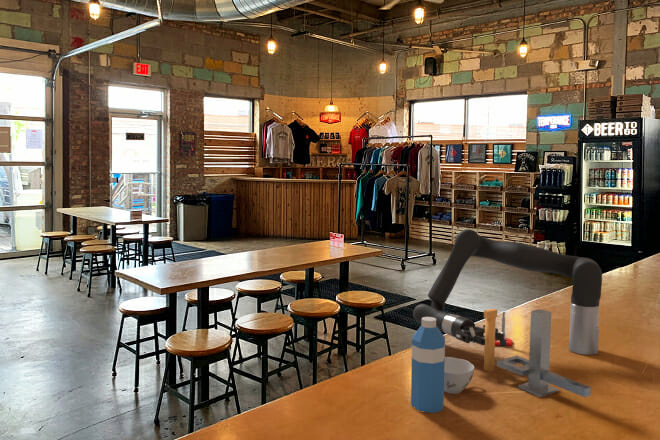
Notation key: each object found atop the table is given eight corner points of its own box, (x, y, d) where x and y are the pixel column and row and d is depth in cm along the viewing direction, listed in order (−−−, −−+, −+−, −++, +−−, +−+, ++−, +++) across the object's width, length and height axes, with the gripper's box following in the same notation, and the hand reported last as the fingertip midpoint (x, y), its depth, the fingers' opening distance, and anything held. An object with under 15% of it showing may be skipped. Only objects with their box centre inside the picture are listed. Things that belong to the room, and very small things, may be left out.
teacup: (455, 402, 157) (455, 375, 156) (422, 388, 166) (422, 363, 165) (487, 389, 166) (488, 363, 165) (454, 376, 176) (454, 352, 175)
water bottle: (407, 399, 159) (408, 314, 156) (439, 397, 160) (440, 313, 157) (414, 413, 150) (416, 324, 147) (448, 412, 151) (450, 323, 148)
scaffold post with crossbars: (496, 379, 173) (498, 304, 170) (516, 373, 178) (518, 300, 175) (576, 414, 149) (580, 328, 147) (596, 406, 154) (601, 322, 151)
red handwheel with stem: (487, 339, 213) (491, 346, 203) (488, 306, 212) (492, 311, 203) (510, 340, 211) (514, 347, 202) (511, 307, 210) (515, 312, 201)
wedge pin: (489, 366, 184) (491, 307, 181) (497, 369, 181) (499, 310, 179) (480, 369, 181) (482, 309, 179) (487, 372, 179) (489, 312, 176)
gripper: (443, 319, 188) (478, 332, 174) (473, 313, 195) (509, 325, 182) (442, 341, 189) (478, 355, 175) (472, 334, 196) (508, 347, 182)
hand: (494, 340), depth 178 cm, fingers open, 8 cm apart
